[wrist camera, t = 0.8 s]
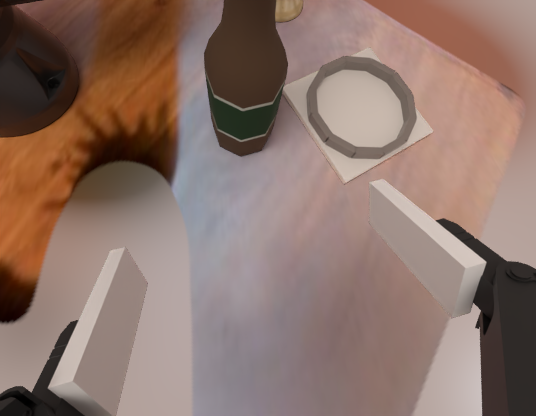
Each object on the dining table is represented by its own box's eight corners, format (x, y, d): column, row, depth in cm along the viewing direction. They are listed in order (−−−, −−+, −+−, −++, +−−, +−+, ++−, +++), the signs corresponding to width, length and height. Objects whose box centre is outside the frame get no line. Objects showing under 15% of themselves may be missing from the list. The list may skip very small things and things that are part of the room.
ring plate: (280, 90, 40) (283, 79, 37) (367, 51, 43) (374, 38, 41) (343, 184, 37) (350, 178, 35) (429, 134, 41) (441, 125, 39)
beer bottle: (282, 135, 38) (360, -87, 15) (239, 169, 36) (249, -26, 13) (245, 95, 39) (263, -175, 16) (200, 126, 37) (145, -129, 14)
